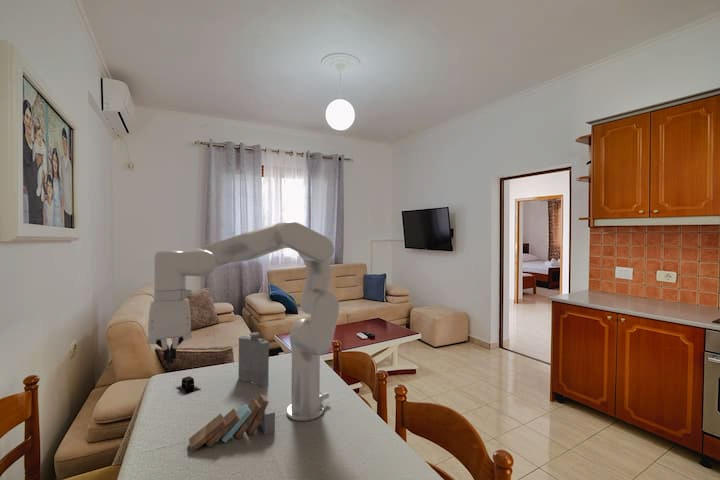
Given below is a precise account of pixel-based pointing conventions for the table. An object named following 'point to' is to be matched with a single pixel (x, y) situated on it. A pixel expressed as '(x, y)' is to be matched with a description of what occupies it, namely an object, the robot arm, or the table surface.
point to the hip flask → (254, 359)
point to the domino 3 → (243, 415)
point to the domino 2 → (230, 421)
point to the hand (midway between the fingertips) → (169, 362)
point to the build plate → (188, 385)
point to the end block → (268, 420)
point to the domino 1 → (207, 432)
